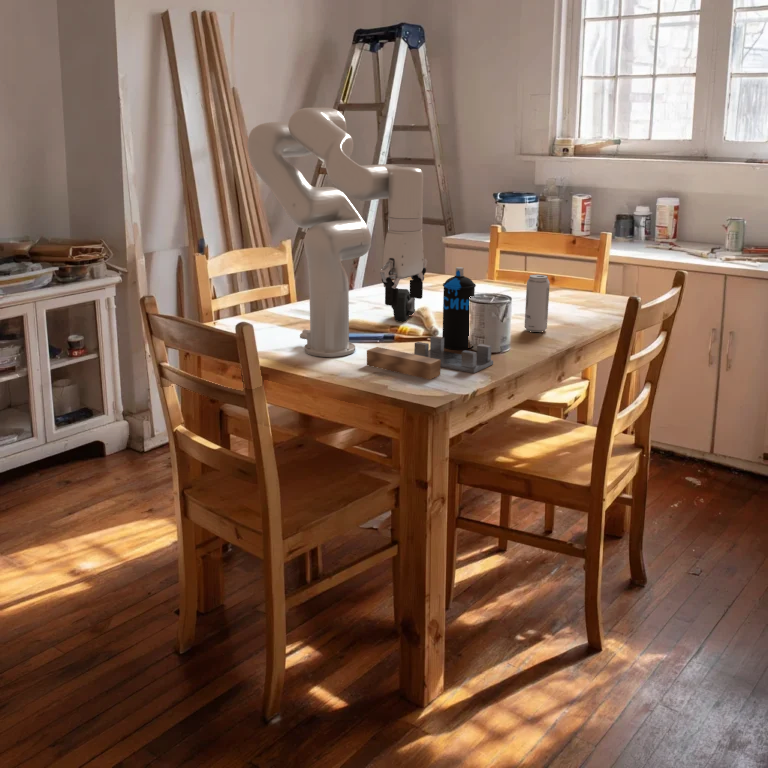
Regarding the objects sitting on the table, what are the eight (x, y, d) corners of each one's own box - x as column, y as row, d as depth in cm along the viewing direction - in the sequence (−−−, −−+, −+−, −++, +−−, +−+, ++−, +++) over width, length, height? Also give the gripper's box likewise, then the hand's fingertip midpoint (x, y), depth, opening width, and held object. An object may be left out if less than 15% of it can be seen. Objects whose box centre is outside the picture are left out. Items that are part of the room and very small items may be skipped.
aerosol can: (448, 340, 233) (450, 263, 227) (478, 344, 230) (481, 266, 224) (436, 347, 226) (437, 269, 220) (466, 351, 223) (469, 271, 217)
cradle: (412, 361, 215) (412, 342, 213) (432, 352, 222) (432, 335, 220) (473, 373, 205) (474, 354, 204) (493, 364, 212) (493, 346, 211)
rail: (366, 366, 211) (366, 350, 210) (377, 363, 214) (377, 346, 213) (430, 380, 201) (430, 363, 200) (440, 376, 204) (440, 359, 203)
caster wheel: (408, 328, 250) (418, 311, 263) (408, 294, 246) (418, 279, 260) (388, 327, 251) (399, 310, 265) (388, 293, 247) (399, 278, 261)
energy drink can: (523, 327, 247) (526, 273, 242) (545, 328, 246) (549, 274, 242) (524, 333, 241) (527, 278, 236) (547, 333, 240) (551, 278, 236)
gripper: (412, 219, 206) (411, 293, 211) (368, 228, 193) (367, 306, 198) (440, 222, 202) (438, 297, 207) (396, 231, 189) (395, 310, 194)
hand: (404, 301), depth 203 cm, fingers open, 9 cm apart
